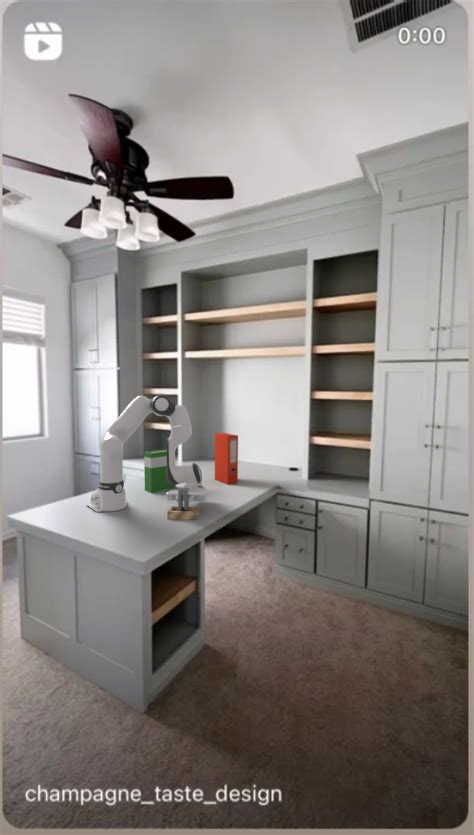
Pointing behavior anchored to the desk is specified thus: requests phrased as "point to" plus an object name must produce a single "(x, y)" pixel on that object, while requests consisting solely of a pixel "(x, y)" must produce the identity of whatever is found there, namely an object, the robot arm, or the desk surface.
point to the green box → (156, 471)
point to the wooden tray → (182, 513)
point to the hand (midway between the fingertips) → (183, 500)
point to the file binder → (226, 458)
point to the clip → (186, 496)
